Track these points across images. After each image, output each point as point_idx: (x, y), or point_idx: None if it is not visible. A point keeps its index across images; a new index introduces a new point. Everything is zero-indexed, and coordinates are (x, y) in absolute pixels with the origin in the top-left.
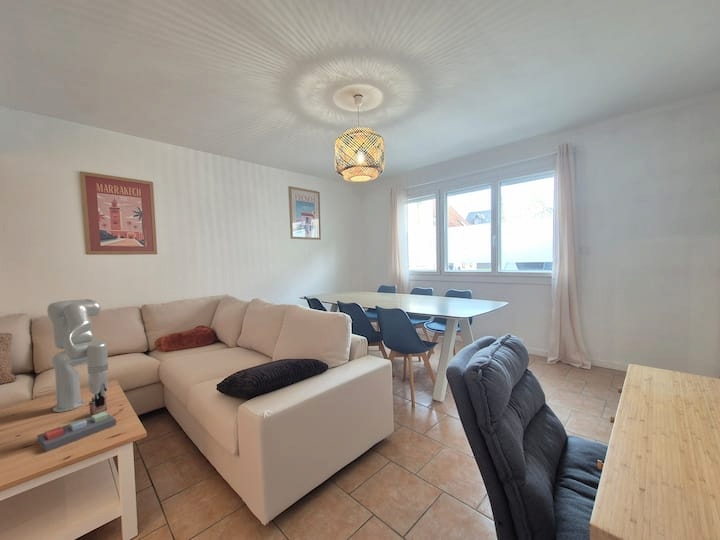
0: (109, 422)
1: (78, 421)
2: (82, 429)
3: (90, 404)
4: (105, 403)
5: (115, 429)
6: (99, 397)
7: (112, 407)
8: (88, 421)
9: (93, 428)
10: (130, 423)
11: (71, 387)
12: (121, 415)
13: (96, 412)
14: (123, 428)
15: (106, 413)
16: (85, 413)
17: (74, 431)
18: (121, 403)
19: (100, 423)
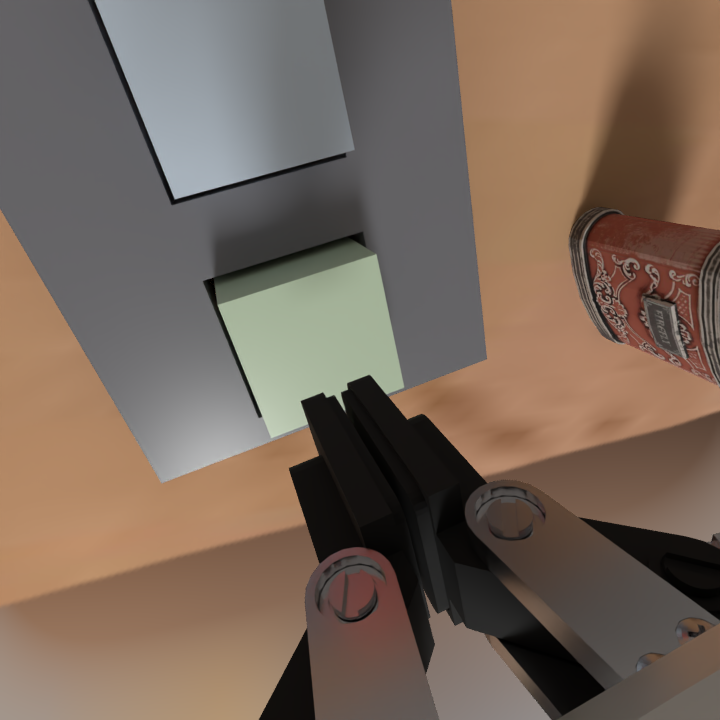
0: (134, 423)
1: (289, 74)
2: (50, 128)
3: (717, 243)
4: (666, 358)
5: (31, 448)
6: (292, 669)
7: (620, 371)
8: (332, 208)
9: (42, 267)
10: (105, 547)
11: None
12: None
13: (597, 270)
14: (3, 512)
15: None
16: (705, 172)
17: (43, 4)
18: (633, 423)
19: (134, 345)
